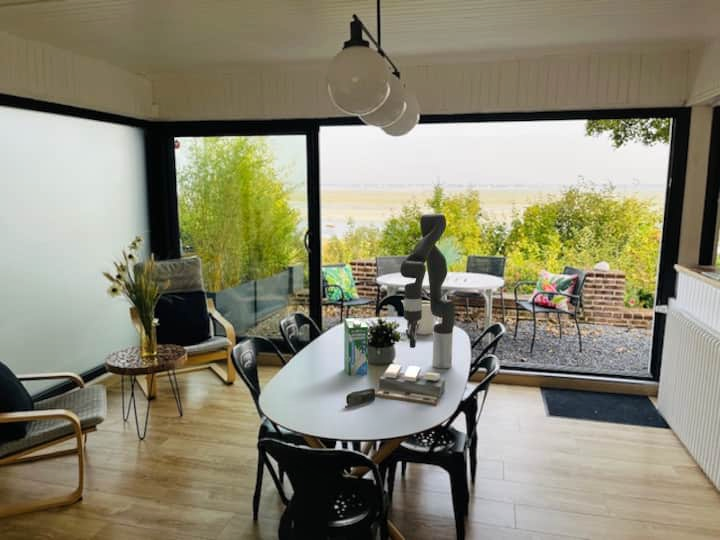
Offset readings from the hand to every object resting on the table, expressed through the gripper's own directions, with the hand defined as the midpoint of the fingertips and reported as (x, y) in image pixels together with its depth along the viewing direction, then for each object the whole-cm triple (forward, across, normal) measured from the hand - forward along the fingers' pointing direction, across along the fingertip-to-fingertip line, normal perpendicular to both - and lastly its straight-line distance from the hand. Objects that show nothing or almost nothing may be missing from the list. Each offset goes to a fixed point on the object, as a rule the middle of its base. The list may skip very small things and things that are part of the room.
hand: (412, 347), depth 219 cm
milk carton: (+18, -9, -30) cm, 36 cm away
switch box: (+18, +7, +1) cm, 19 cm away
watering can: (+20, -88, -20) cm, 92 cm away
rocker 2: (+12, +4, +1) cm, 12 cm away
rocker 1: (+12, +4, -8) cm, 14 cm away
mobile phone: (+18, +24, -15) cm, 33 cm away
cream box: (+12, +4, +9) cm, 16 cm away
